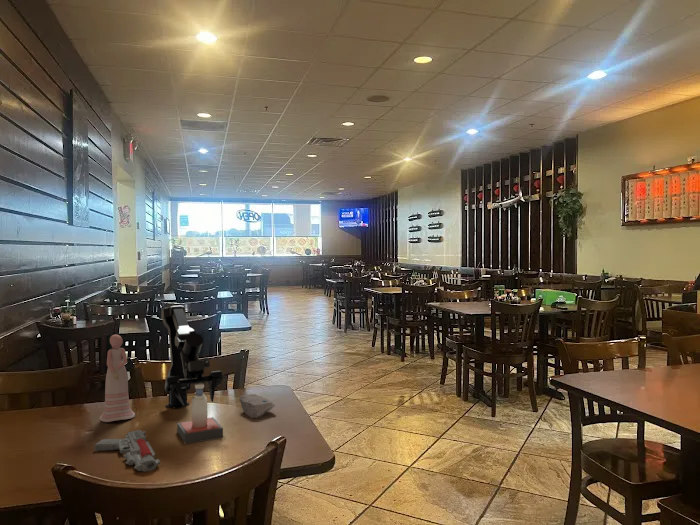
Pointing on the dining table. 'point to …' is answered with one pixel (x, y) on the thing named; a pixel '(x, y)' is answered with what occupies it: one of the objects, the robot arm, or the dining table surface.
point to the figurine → (116, 384)
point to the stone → (255, 405)
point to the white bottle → (199, 407)
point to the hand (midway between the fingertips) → (198, 403)
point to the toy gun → (132, 450)
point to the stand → (199, 431)
